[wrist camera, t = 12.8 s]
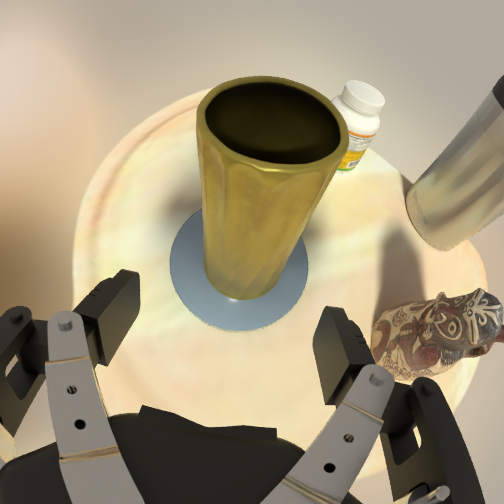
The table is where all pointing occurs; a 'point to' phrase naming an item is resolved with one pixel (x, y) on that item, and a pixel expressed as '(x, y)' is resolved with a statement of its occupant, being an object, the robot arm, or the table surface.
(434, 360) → the figurine
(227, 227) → the vase
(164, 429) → the robot arm
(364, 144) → the supplement bottle
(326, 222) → the table surface
